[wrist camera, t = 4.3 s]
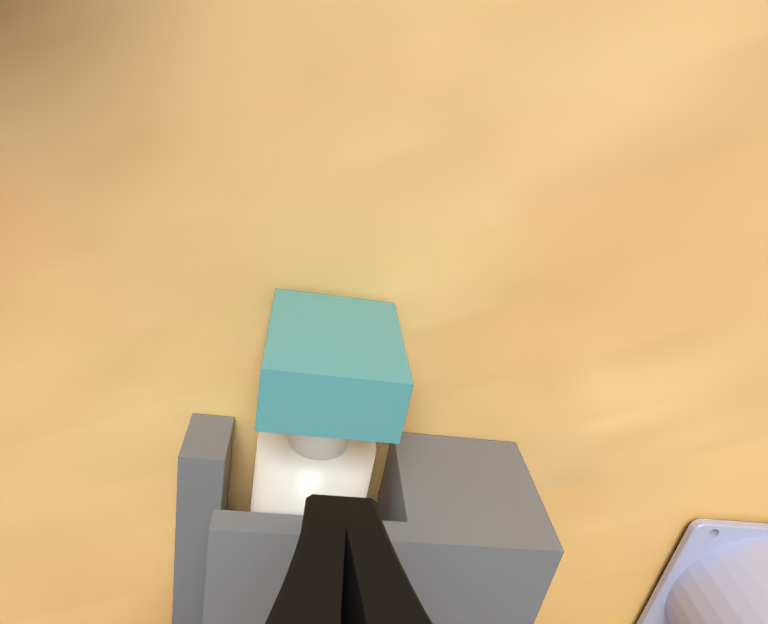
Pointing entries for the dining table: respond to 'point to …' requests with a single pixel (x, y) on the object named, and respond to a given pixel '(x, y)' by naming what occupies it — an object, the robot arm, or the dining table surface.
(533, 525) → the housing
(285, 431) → the cartridge
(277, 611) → the robot arm
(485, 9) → the dining table surface
